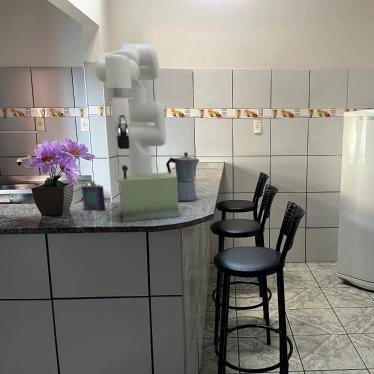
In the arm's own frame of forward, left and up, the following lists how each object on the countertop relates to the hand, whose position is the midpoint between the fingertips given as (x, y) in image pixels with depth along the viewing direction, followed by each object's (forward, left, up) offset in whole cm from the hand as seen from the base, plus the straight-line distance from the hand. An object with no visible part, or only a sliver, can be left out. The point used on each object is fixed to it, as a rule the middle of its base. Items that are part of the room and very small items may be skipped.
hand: (123, 148), depth 121 cm
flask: (-18, -11, -24) cm, 31 cm away
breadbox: (0, +7, -23) cm, 24 cm away
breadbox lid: (0, +7, -10) cm, 12 cm away
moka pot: (-22, +24, -24) cm, 40 cm away
